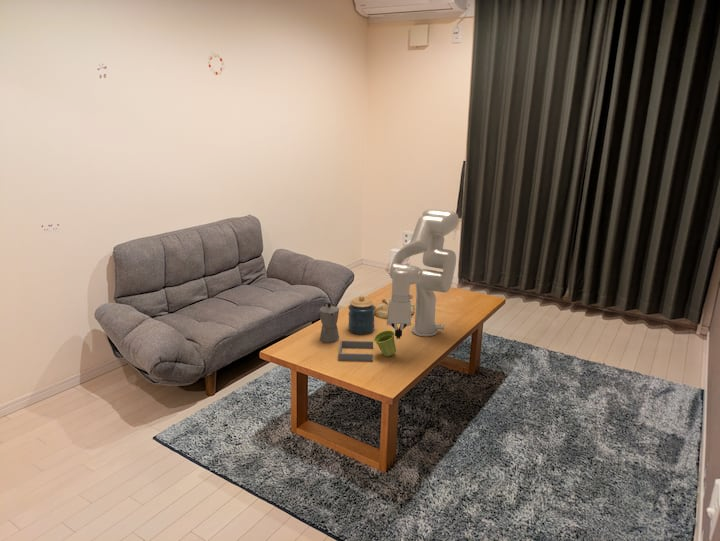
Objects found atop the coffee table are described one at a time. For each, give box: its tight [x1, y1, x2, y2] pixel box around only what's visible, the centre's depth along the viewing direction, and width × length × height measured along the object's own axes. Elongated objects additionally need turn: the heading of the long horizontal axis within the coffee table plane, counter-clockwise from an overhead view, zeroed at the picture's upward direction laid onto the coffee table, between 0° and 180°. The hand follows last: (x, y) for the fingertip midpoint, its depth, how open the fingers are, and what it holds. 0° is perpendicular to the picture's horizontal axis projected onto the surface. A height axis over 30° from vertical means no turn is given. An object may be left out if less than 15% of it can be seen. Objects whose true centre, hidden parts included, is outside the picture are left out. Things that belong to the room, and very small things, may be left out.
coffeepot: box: [318, 302, 340, 344], centre depth 242 cm, size 15×9×18 cm, turn 16°
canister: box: [347, 295, 376, 335], centre depth 252 cm, size 13×13×18 cm
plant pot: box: [373, 330, 397, 357], centre depth 226 cm, size 9×9×9 cm
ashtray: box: [374, 298, 416, 321], centre depth 276 cm, size 24×24×5 cm
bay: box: [337, 340, 374, 362], centre depth 228 cm, size 15×14×3 cm
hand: (398, 337), depth 224 cm, fingers closed
